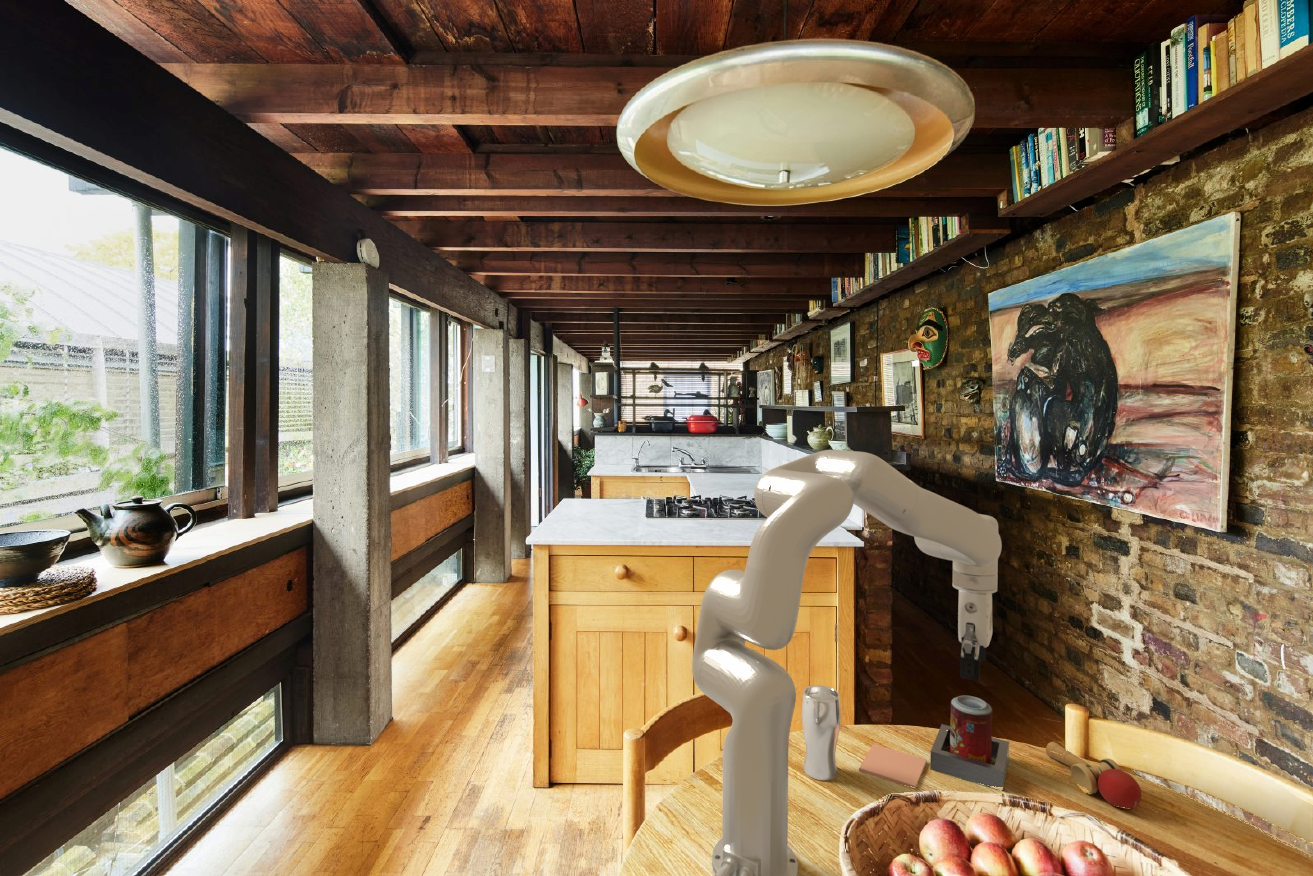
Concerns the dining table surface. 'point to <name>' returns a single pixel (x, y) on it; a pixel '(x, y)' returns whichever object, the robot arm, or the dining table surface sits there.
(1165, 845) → the dining table surface
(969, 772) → the collar
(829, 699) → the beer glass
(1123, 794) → the kendama
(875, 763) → the tile
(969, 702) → the soda can
